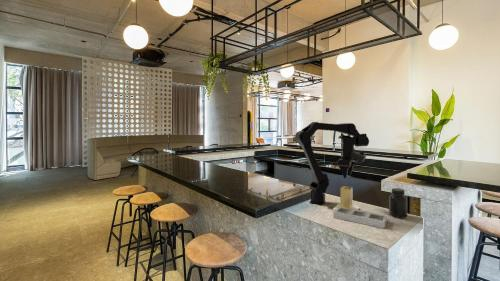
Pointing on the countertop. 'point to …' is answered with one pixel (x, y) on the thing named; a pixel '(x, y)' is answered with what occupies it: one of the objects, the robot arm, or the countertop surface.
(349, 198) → the brass peg
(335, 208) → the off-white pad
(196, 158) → the countertop surface
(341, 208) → the grey slotted tray
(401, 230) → the countertop surface
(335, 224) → the countertop surface
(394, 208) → the supplement bottle
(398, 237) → the countertop surface
